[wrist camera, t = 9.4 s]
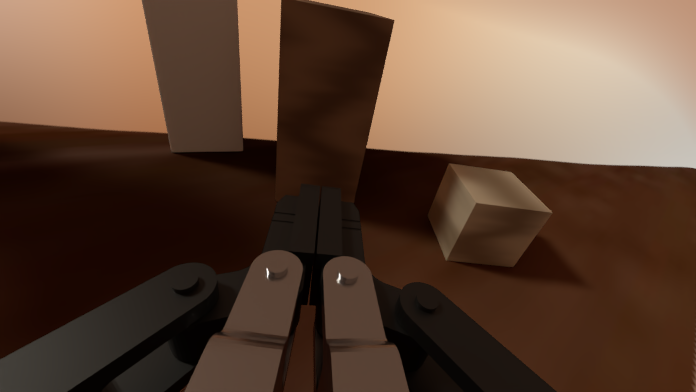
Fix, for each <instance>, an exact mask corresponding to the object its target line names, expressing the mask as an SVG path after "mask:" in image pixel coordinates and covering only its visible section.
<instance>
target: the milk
mask: <svg viewBox="0 0 696 392" xmlns="http://www.w3.org/2000/svg"><path fill="white" fill-rule="evenodd" d="M142 4H143V8H144V14H145V19H146V24H147V29H148V34H149V39H150V45H151V50H152V55H153V60H154V65H155V70H156V75H157V80H158V85H159V91H160V95H161V101H162V105H163V110H164V116H165V121H166V126H167V131H168V136H169V142H170V147H171V151H172V152H231V151H243V132H242V109H241V108H242V107H241V82H240V58H239V33H238V11H237V10H238V9H237V0H142Z"/></svg>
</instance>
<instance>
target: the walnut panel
mask: <svg viewBox="0 0 696 392" xmlns="http://www.w3.org/2000/svg"><path fill="white" fill-rule="evenodd" d="M393 24H394V20H392V19H388V18H385V17H382V16H378V15H375V14H372V13H368V12H363V11H358V10H353V9H348V8H343V7H338V6H334V5H329V4H324V3H319V2H314V1H309V0H281V29H280V30H281V31H280V60H279V92H278V124H277V125H278V126H277V156H276V188H275V201H279V200H280V199H281V198H283V197H284V196H285V195H291V196H299V192H300V187H301V183H302V184H310V185H318V186H320V195H319V203H320V196H321V188H322V186H327V187H335V188H341V201H344V202H352V203H353V204H354V199H355V195H356V190H357V186H358V181H359V177H360V172H361V168H362V163H363V159H364V154H365V150H366V145H367V141H368V136H369V132H370V127H371V123H372V118H373V114H374V109H375V104H376V100H377V96H378V91H379V87H380V82H381V78H382V74H383V69H384V65H385V60H386V56H387V51H388V47H389V42H390V37H391V33H392V29H393Z"/></svg>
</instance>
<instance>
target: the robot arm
mask: <svg viewBox="0 0 696 392" xmlns="http://www.w3.org/2000/svg"><path fill="white" fill-rule="evenodd" d="M319 195H320V186H318V185H310V184H302V183H301V187H300V192H299V196H291V195H285V196H284V197H283V198H281V199H280V200H279V201H278V202H277V205H276V208H275V212H274V215H273V218H272V222H271V225H270V228H269V232H268V235H267V238H266V242H265V245H264V248H263V252H262V254H261V255H260V256H258V257H257V258H256V259H255V260H254V261H253V263H252V264H251V266H249V267H247V268H245V269H242V270H239V271H235V272H229V273H224V274H218V275H216V273H215V271H214V270H213V269H212V268H211V267H210V266H208V265H205V264H202V263H185V264H181V265H178V266H175V267H173V268H171V269H169V270H167V271H165V272H163V273H161V274H159V275H158V276H156V277H154V278H152V279H150V280H148V281H146V282H144V283H143V284H141V285H139V286H137V287H135V288H133V289H131V290H129V291H128V292H126V293H124V294H122V295H120V296H118V297H116V298H114V299H113V300H111V301H109V302H107V303H105V304H103V305H101V306H99V307H98V308H96V309H94V310H92V311H90V312H88V313H86V314H84V315H83V316H81V317H79V318H77V319H75V320H73V321H71V322H69V323H68V324H66V325H64V326H62V327H60V328H58V329H56V330H54V331H53V332H51V333H49V334H47V335H45V336H43V337H41V338H39V339H38V340H36V341H34V342H32V343H30V344H28V345H26V346H24V347H23V348H21V349H19V350H17V351H15V352H13V353H11V354H9V355H8V356H6V357H4V358H2V359H0V392H179V391H180V390H181V389H183V388H184V387H185V386H186V385H187V384H188V385H187V388H186V390H185V392H283V391H284V386H285V381H286V376H287V371H288V366H289V361H290V356H291V352H292V347H293V342H294V337H295V332H296V326H297V325H298V322H299V319H300V310H301V305H307V302H308V295H309V288H310V281H311V291H310V302H309V305H315V306H316V313H315V322H314V328H313V361H314V392H556V391H555V390H554V389H553V388H552V387H551V386H549V385H548V384H547V383H546V382H545V381H544V380H542V379H541V378H540V377H539V376H538V375H537V374H535V373H534V372H533V371H532V370H531V369H530V368H528V367H527V366H526V365H525V364H524V363H523V362H522V361H520V360H519V359H518V358H517V357H516V356H515V355H513V354H512V353H511V352H510V351H509V350H508V349H506V348H505V347H504V346H503V345H502V344H501V343H499V342H498V341H497V340H496V339H495V338H494V337H492V336H491V335H490V334H489V333H488V332H487V331H485V330H484V329H483V328H482V327H481V326H480V325H478V324H477V323H476V322H475V321H474V320H473V319H471V318H470V317H469V316H468V315H467V314H466V313H464V312H463V311H462V310H461V309H460V308H459V307H457V306H456V305H455V304H454V303H453V302H452V301H450V300H449V299H448V298H447V297H446V296H445V295H443V294H442V293H441V292H440V291H439V290H437V289H436V288H434V287H433V286H430V285H428V284H425V283H420V282H414V283H410V284H407V285H406V286H405V287H403V289H402V290H401V289H399V288H396V287H393V286H390V285H388V284H385V283H383V282H381V281H379V280H378V279H376V278H375V277H374V276H373V275H372V274H371V272H370V270H369V268H368V267H367V266H366V265H365V260H364V251H363V242H362V233H361V224H360V215H359V211H358V209H357V208H356V206H355V205H354V204H353V203H352V202H344V201H341V188H335V187H327V186H322V188H321V196H320V203H319ZM318 206H319V210H318ZM317 217H318V218H317ZM312 266H313V269H312ZM311 274H312V280H311Z"/></svg>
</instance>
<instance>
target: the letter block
mask: <svg viewBox="0 0 696 392" xmlns="http://www.w3.org/2000/svg"><path fill="white" fill-rule="evenodd" d="M551 214H552V212H551V211H550V210H549V209H548V208H547V207H546V206H545V205H544V204H543V203H542V202H541V201H540V200H539V199H538V198H537V197H536V196H535V195H534V194H533V193H532V192H531V191H530V190H529V189H528V188H527V187H526V186H525V185H524V184H523V183H522V182H521V181H520V180H519V179H518V178H517V177H516V176H515V175H514V174H513V173H512V172H506V171H499V170H492V169H485V168H478V167H471V166H464V165H457V164H450V163H449V164H448V167H447V169H446V172H445V174H444V176H443V179H442V181H441V184H440V186H439V189H438V191H437V193H436V196H435V198H434V201H433V203H432V205H431V208H430V210H429V213H428V215H427V216H428V218H429V220H430V223H431V225H432V227H433V230H434V232H435V235H436V237H437V239H438V242H439V244H440V247H441V249H442V251H443V254H444V256H445V259H446V260H447V261H457V262H467V263H476V264H486V265H496V266H505V267H514V265H515V264H516V263H517V261H518V260H519V258H520V257H521V256H522V254H523V253H524V252H525V250H526V249H527V247H528V246H529V245H530V243H531V242H532V240H533V239H534V238H535V236H536V235H537V234H538V232H539V231H540V229H541V228H542V227H543V225H544V224H545V223H546V221H547V220H548V218H549V217H550V216H551Z"/></svg>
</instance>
